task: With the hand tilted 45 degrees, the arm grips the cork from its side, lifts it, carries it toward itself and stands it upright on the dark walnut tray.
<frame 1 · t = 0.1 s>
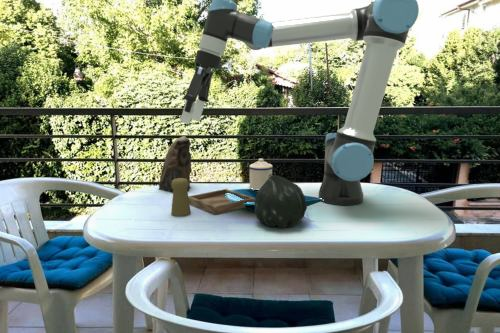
hand: (190, 121, 118), 28 cm above the table, tool tilted 20°, fingers open, 13 cm apart
squash: (280, 224, 109), on the table
tray: (220, 204, 128), on the table
owl: (176, 189, 148), on the table
cork: (181, 214, 118), on the table
teacup with lid: (261, 188, 149), on the table
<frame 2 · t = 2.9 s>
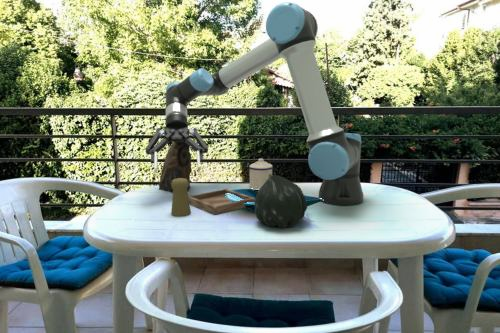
hand: (177, 170, 123), 12 cm above the table, tool tilted 45°, fingers open, 13 cm apart
nothing on the table moved.
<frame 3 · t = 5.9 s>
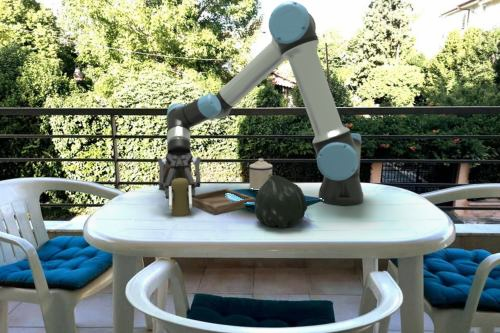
hand: (180, 206, 114), 3 cm above the table, tool tilted 45°, fingers closed on cork, 5 cm apart
cork: (181, 214, 118), on the table, touching gripper
everything else where it was.
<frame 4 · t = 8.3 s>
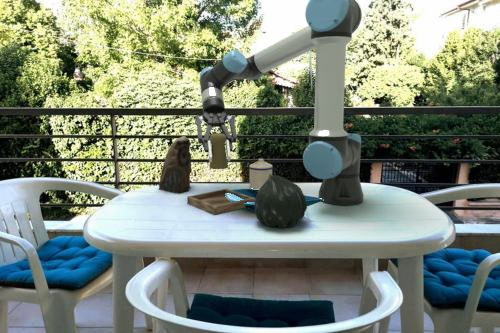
hand: (220, 159, 120), 16 cm above the table, tool tilted 45°, fingers closed on cork, 5 cm apart
cork: (218, 167, 124), point 12 cm above the table, touching gripper
everything else where it was.
when the fingers open (5 cm above the table, at t = 10.8 s): cork drops 1 cm, resting on tray.
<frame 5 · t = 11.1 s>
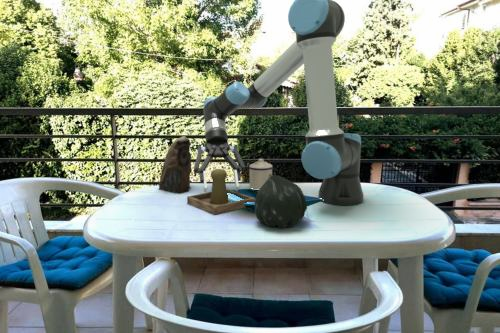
hand: (221, 189, 123), 6 cm above the table, tool tilted 45°, fingers open, 9 cm apart
cork: (219, 202, 127), point 1 cm above the table, touching tray
everything else where it was.
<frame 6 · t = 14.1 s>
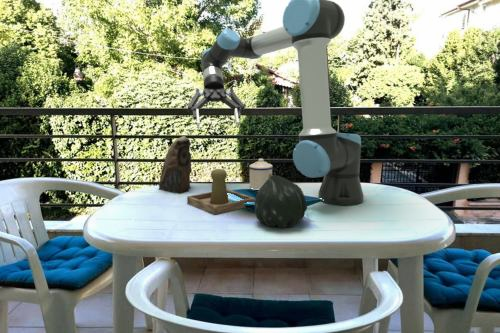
hand: (218, 125, 133), 25 cm above the table, tool tilted 45°, fingers open, 13 cm apart
nothing on the table moved.
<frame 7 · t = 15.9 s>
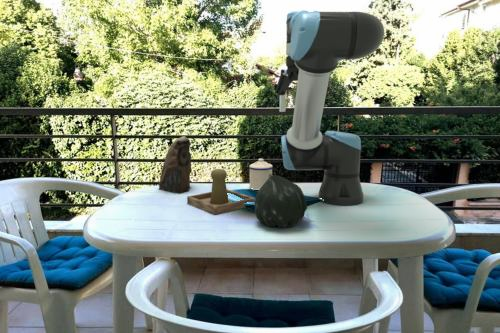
hand: (294, 112, 150), 29 cm above the table, tool pointing down, fingers open, 13 cm apart
nothing on the table moved.
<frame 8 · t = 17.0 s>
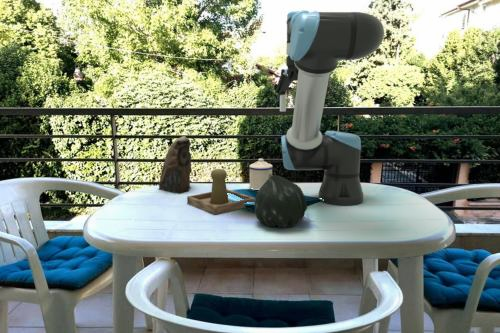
hand: (295, 112, 150), 29 cm above the table, tool pointing down, fingers open, 13 cm apart
nothing on the table moved.
at the end: cork inside the target area on the tray (0.5 cm from its centre), point 0.6 cm above the tray's base; cork tilted 0°; the gripper is holding nothing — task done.
